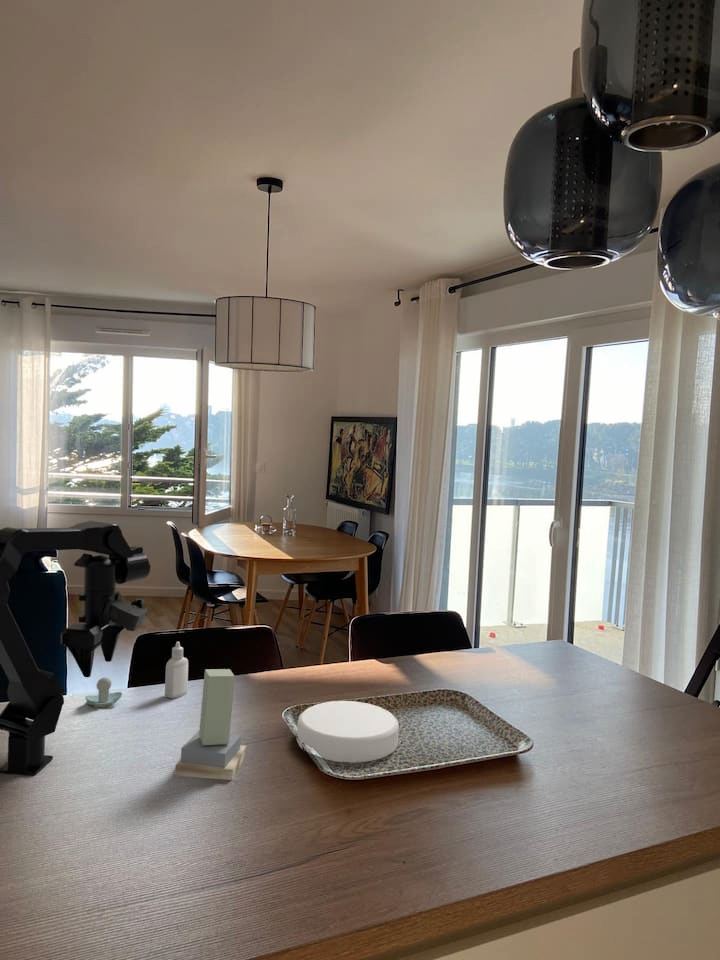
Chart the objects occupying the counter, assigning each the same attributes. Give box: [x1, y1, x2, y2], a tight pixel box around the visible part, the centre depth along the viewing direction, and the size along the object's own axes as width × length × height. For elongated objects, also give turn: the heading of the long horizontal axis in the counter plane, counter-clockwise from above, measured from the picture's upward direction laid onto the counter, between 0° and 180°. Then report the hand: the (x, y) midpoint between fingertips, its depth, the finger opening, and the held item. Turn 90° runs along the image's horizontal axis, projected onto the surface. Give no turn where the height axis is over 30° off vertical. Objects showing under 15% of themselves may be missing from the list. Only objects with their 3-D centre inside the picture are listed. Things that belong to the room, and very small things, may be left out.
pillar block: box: [198, 668, 235, 745], centre depth 128 cm, size 4×4×12 cm
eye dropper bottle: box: [164, 641, 189, 699], centre depth 161 cm, size 4×6×12 cm
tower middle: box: [180, 730, 242, 768], centre depth 128 cm, size 8×8×2 cm
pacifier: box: [85, 676, 123, 708], centre depth 154 cm, size 7×6×6 cm
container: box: [296, 700, 400, 763], centre depth 142 cm, size 20×20×5 cm
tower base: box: [174, 744, 247, 781], centre depth 128 cm, size 10×10×2 cm
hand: (98, 668), depth 137 cm, fingers open, 9 cm apart
